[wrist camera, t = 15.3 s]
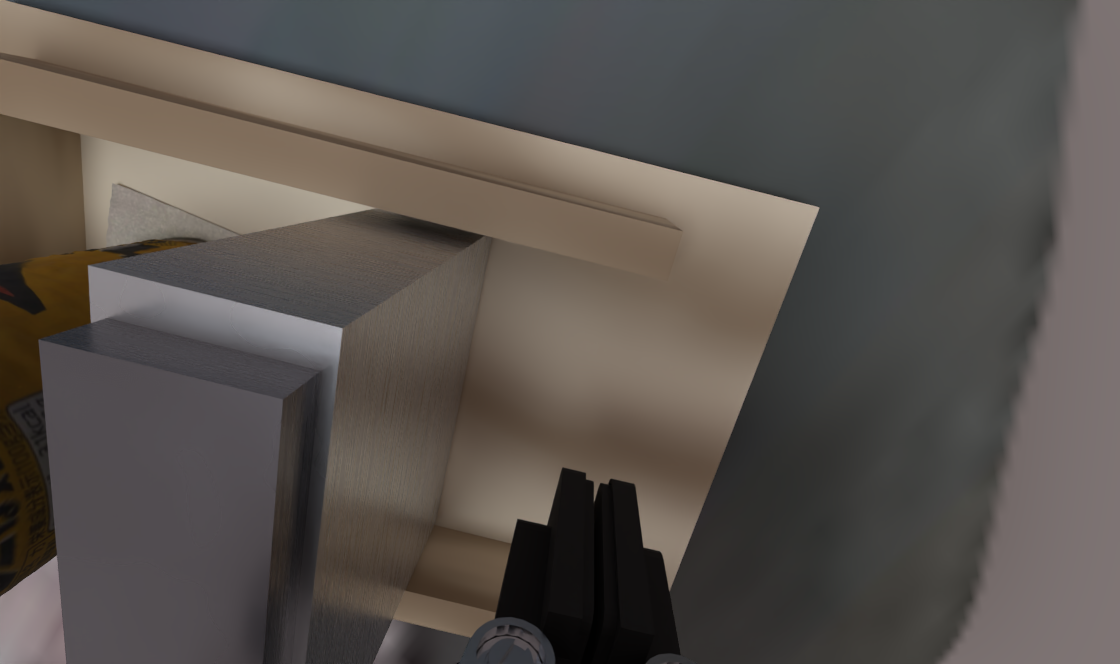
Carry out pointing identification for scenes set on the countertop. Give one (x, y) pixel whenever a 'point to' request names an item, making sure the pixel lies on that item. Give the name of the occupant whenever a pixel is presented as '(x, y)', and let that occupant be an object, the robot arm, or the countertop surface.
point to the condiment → (15, 370)
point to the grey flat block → (257, 439)
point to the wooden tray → (452, 200)
